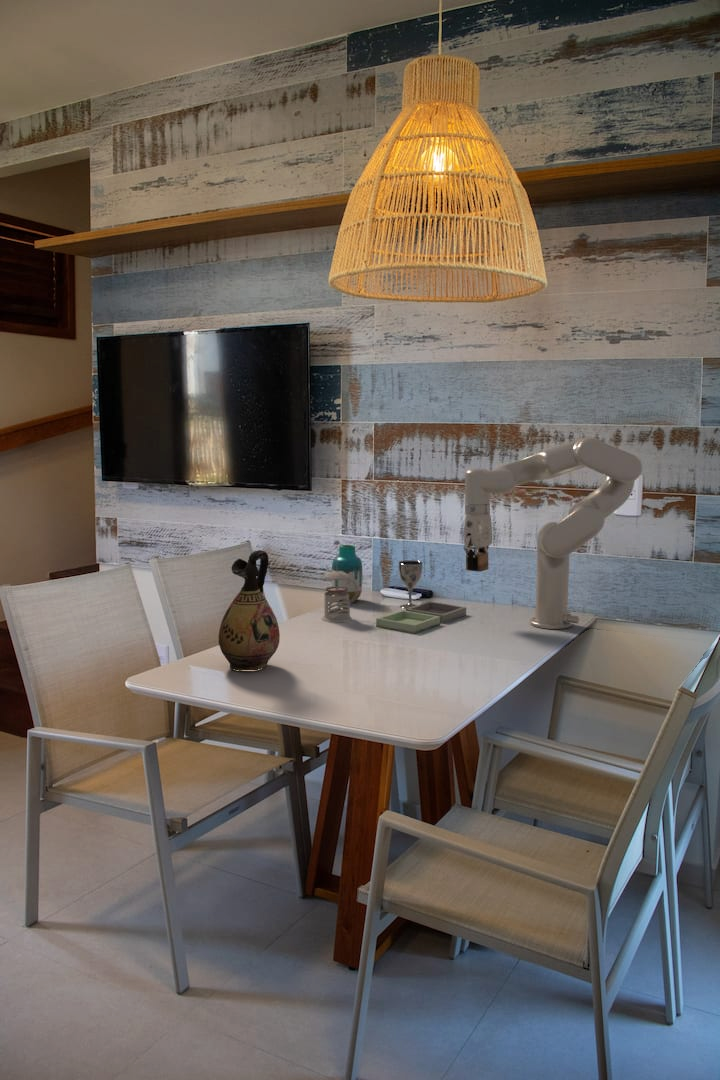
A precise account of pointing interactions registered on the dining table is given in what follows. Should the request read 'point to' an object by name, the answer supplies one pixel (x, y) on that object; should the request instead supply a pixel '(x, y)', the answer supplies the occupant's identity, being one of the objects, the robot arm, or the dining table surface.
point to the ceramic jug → (249, 619)
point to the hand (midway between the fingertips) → (477, 567)
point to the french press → (337, 598)
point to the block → (480, 562)
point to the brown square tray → (439, 610)
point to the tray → (408, 621)
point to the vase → (348, 570)
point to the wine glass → (410, 577)
